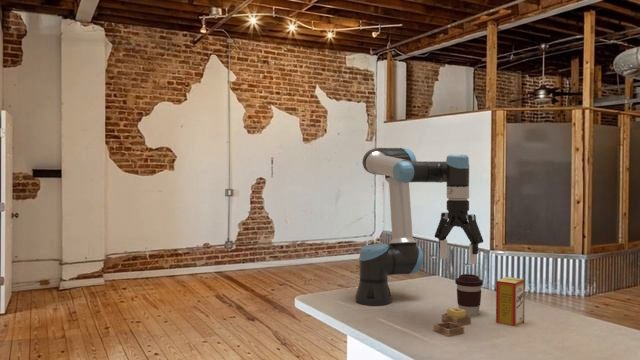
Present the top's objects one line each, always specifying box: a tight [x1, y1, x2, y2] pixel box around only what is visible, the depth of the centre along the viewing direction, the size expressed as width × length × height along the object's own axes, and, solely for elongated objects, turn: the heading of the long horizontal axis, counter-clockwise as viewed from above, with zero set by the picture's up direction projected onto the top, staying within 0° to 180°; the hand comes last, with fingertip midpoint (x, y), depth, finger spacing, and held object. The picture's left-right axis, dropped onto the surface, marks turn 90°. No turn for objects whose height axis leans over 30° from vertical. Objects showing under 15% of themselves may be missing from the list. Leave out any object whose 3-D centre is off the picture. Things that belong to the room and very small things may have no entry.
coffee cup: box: [454, 273, 484, 317], centre depth 195 cm, size 10×10×15 cm
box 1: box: [441, 313, 472, 326], centre depth 183 cm, size 7×7×3 cm
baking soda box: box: [495, 276, 526, 327], centre depth 185 cm, size 10×6×16 cm
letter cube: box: [446, 307, 466, 319], centre depth 183 cm, size 4×4×5 cm
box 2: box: [433, 322, 465, 337], centre depth 172 cm, size 7×7×3 cm
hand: (457, 261), depth 179 cm, fingers open, 13 cm apart
